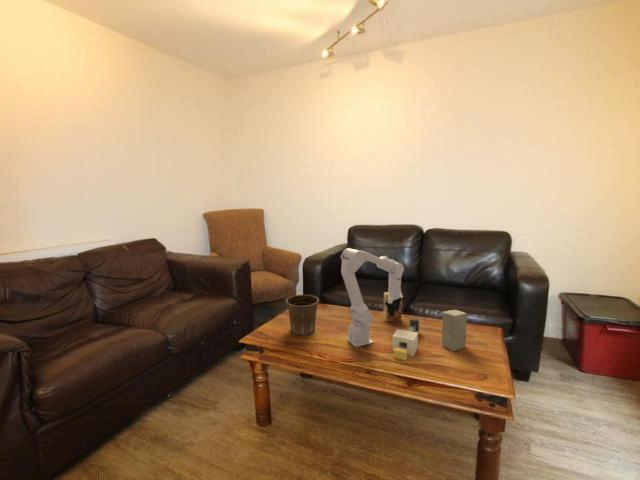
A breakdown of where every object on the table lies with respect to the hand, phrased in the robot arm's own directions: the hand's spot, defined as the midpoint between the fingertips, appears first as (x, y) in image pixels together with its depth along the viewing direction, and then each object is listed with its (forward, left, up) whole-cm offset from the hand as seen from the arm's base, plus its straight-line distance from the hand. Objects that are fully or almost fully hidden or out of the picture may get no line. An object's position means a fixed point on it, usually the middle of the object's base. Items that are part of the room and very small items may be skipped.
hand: (393, 313), depth 155 cm
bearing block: (-6, -16, -10) cm, 20 cm away
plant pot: (-39, +22, -10) cm, 46 cm away
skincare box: (+15, -23, -10) cm, 29 cm away
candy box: (+9, +13, -10) cm, 18 cm away
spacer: (-11, -20, -8) cm, 24 cm away
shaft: (+1, -11, -8) cm, 14 cm away
